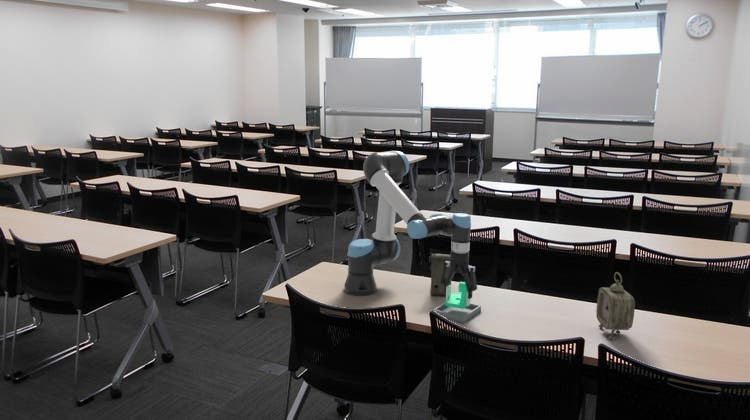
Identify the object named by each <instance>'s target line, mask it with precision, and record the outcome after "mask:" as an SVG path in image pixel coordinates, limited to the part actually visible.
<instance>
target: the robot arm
mask: <svg viewBox="0 0 750 420" xmlns="http://www.w3.org/2000/svg"><path fill="white" fill-rule="evenodd" d="M362 166H363V167H362V169H363V174H364V176H365V179H366V180H367V182H368V184H369V185H371V187H376V189H377V191H378V192H379V193H378V202H377V214H376V224H375V225H376V226H375V232H373V233H372V234H371V239H369V238H362V239H361V238H360V239H359V238H358V239H354V240H353V241H351V242H350V243H349V244H348V249H347V250H348V251H347V257H348V258H347V261H348V262H347V266H348V267H347V271H348V272H347V273H348V274H347V276H346V279H345V282H344V288H343V289H344V292H345V293H346V294H349V295H351V296H353V295H354V296H368V295H373V294H374V293H376V292H377V290H378V287H377V283H376V280H375V275H374V267H375V266H379V265H383V264H389V263H391V262H394V261H395V260H397V259H398V258H399V256H400V254H401V245H400V242H399V240H398V239H397V235H396V234H395V226H396V225H395V224H396V215H397V214H398V216H399V217H400V218H401V219H402V220H403V222H404V223H405V224H406V225H407V226H406V232H407V235H408V236H409V237H410V238H411V239H414V240H416V239H424V238H427V237H431V236H436V235H440V234H446V235H449V236H451V241H450V242H451V243H450V244H451V246H450V248H451V251H450V254H451V261H450V262H449V261H446V262H444V269H443V274H442V278H441V284H444V286H445V290H444V292H445V293H446V296H445V302H446V301H447V300H448V298H449V297H450V296H451V295H452V293H451V292H452V291H451V290H452V284H451V285H449V284H450V282H451V283H452V280H453V278H454V276H455V274H457V273H458V274H461V277H462V278H463V282H465V284H466V287H467V289H468V290H467V291H466V303H465V306H466V307H467V306H469V305H470V303H471V299H473V292H475V291H477V290H478V285H477V277H476V268H477V267H476V266H475V265H474V266H472V265H470V263H469V262H470V252H469V251H470V248H471V247H470V246H471V242H470V241H471V230H472V229H471V227H472V219H471V215H469V214H468V213H461V212H460V213H459V212H457V213H454V214H452V216H449V215H445V214H442V213H432V214H431V215H430V216H429V217H425V215H424V214H423V213H422V212H421V211H420V210H419V209H418V208H417V206H416V205H415V204H414V203H413V202H412V200H410V198H409V197H408V196H407V195H406V193H405V192H404V191H403V190H402V189H401V188H400V187H399V185H400V184H402V183H403V178H404V176H406V175H407V173H408V172H409V170H410V162H409V159H408V157H407V155H406V154H405V153H403V152H402V151H399V150H389V151H388V150H387V151H380V152H379V151H378V152H372V153H371V154H368V156H367V157H366V158H365V160H364V162H363V165H362ZM450 265H451V267H452V270H451V271H450V274H449V276H448V278H447V274H448V270H449V266H450ZM446 278H447V280H446Z"/></svg>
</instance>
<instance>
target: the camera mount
mask: <svg viewBox="0 0 750 420" xmlns="http://www.w3.org/2000/svg"><path fill="white" fill-rule="evenodd" d="M467 290H468V289H467V287H466V284H465V281H459V284H458V293H454V292H453V293H451V296H450V297H449V298H448V300H447V301H446V300H445V302H446V306H449V307H454V308H460V309H463V308H466V306H465V303H466V291H467Z"/></svg>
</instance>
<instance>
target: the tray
mask: <svg viewBox="0 0 750 420" xmlns="http://www.w3.org/2000/svg"><path fill="white" fill-rule="evenodd" d="M433 311H436V312H437V313H439V314H440V315H442V316H444V317H446V318H447V319H446V320H448V319H449V321H453V322H456V323H460V324H465V323H466V322H467V321H469V320H470V319H472V318H473V317H475V316H476V315H479V313H481V311H482V305H479V304H475V303H472V302H470V305H469V306H467V307H466V308H463V309H460V308H454V307H449V306H446V301H445V302H444V303H442V304H440V305H439V306H437V307H435V308H433V309H432V312H433Z"/></svg>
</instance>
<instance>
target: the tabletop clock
mask: <svg viewBox="0 0 750 420" xmlns="http://www.w3.org/2000/svg"><path fill="white" fill-rule="evenodd" d="M613 274H614V275H613V278H614V279H613V280H614V281H615V283H612V284H611V285H610V287H605V286H604V287H599V288H598V292H597V300H596V313H595V314H596V318H597V321H598V323H599V325H598V328H599V327H600V329H602V328H604V330H610V331H611V334H610V335H609V336H608V339H609V340H610V339H612V340H613V339H614V336H613V335H614V334H616V333H617V334H616V335H620V334H621V331H628V330H631V329H632V327H633V323H634V317H635V312H636V311H635V307H636V302H635V301H636V300H635V298H634V297H633V295H632V294H630V292H628V291H626V290H625V289H624V286H623V285H622V283H623V277H622V275H621V273H620V272H618V271H615V273H613ZM616 275H618V276H619V278H620V280H619V279H616V278H617V277H616Z"/></svg>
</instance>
